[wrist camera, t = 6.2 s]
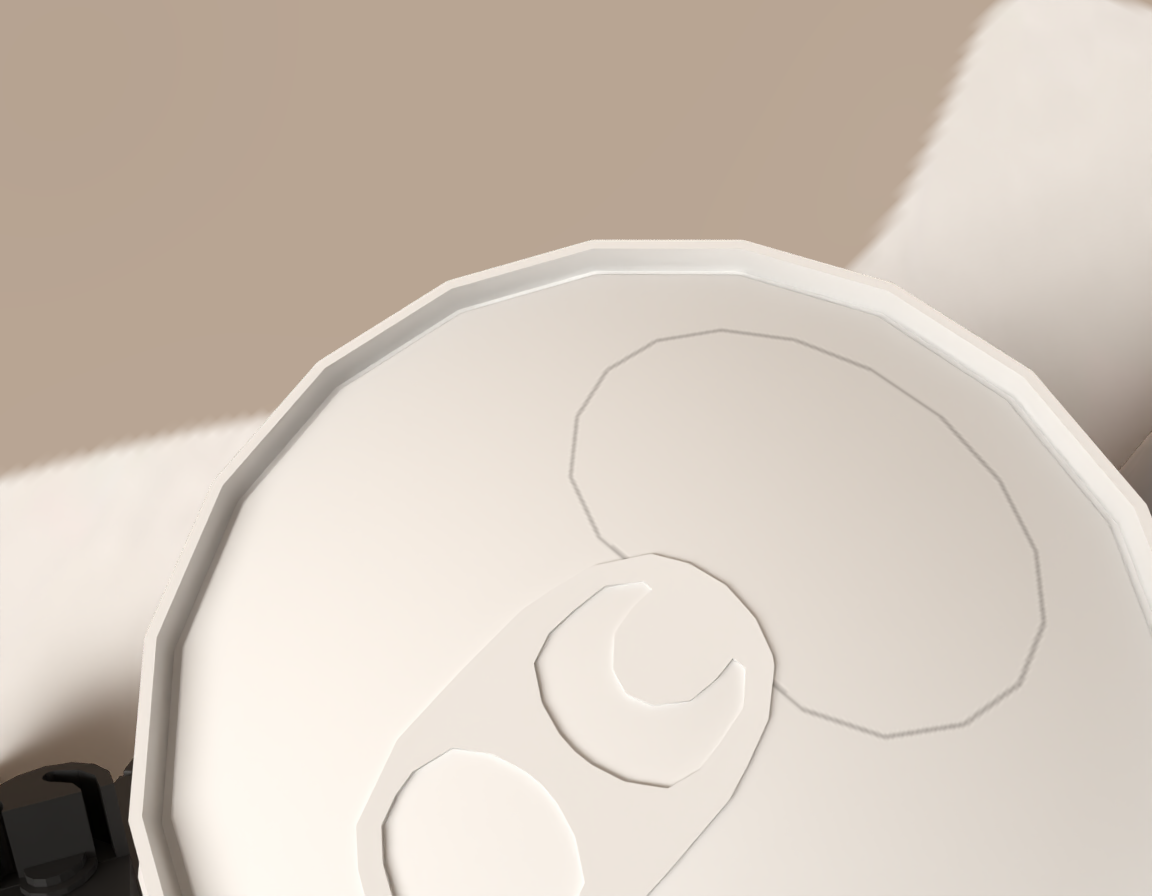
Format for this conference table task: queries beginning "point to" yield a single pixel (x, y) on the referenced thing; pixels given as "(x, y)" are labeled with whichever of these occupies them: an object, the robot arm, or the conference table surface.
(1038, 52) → the conference table surface
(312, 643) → the supplement can
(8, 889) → the robot arm
